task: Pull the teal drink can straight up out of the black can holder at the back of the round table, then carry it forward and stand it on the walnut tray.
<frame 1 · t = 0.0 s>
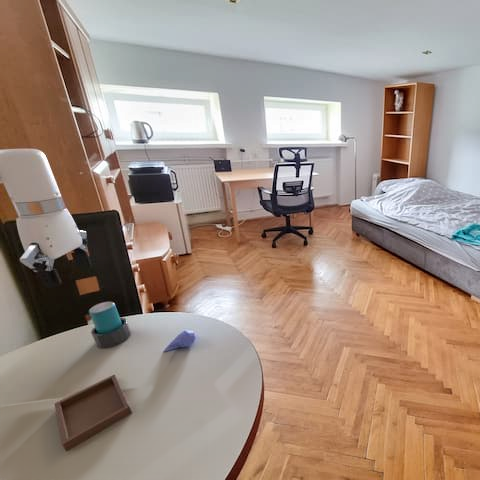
hand: (69, 275, 70), 25 cm above the table, tool pointing down, fingers open, 9 cm apart
tray: (94, 411, 63), on the table
can: (114, 338, 85), resting on holder
blue teardrop shape: (183, 346, 83), on the table
holder: (114, 340, 85), on the table
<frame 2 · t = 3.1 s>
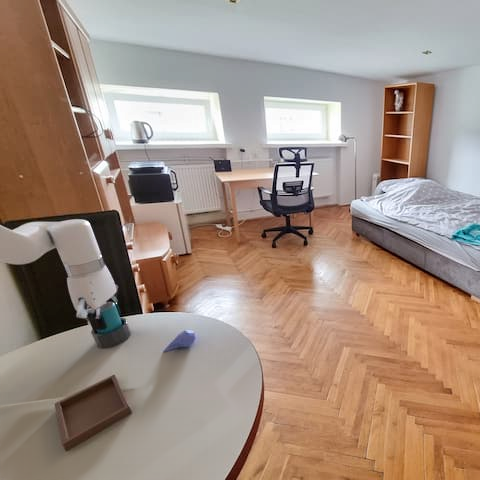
hand: (107, 321, 82), 7 cm above the table, tool pointing down, fingers closed on can, 5 cm apart
can: (114, 338, 85), point 1 cm above the table, touching gripper, holder
everything else where it was.
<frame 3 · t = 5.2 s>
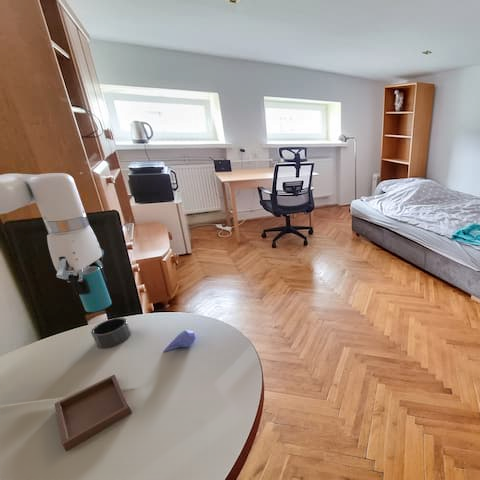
hand: (91, 287, 77), 18 cm above the table, tool pointing down, fingers closed on can, 5 cm apart
can: (98, 306, 80), point 12 cm above the table, touching gripper
everything else where it was.
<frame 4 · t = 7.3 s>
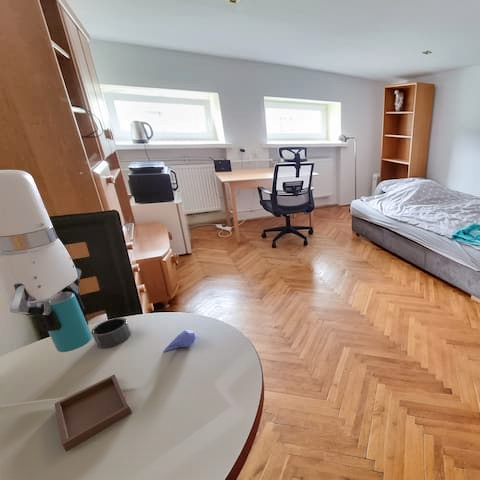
hand: (64, 319, 59), 22 cm above the table, tool pointing down, fingers closed on can, 5 cm apart
can: (75, 342, 61), point 15 cm above the table, touching gripper
everything else where it was.
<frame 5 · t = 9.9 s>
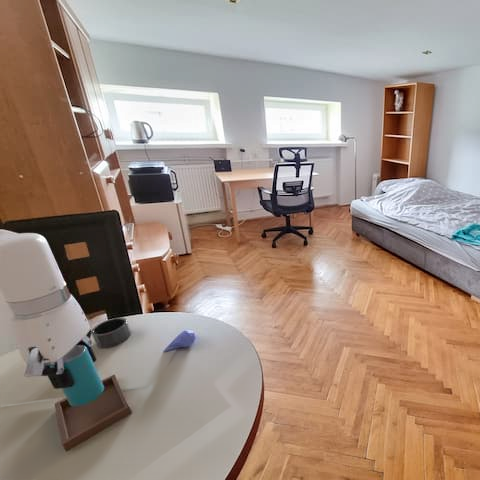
hand: (76, 373, 59), 11 cm above the table, tool pointing down, fingers closed on can, 5 cm apart
can: (87, 394, 61), point 5 cm above the table, touching gripper
everything else where it was.
when the fingers open (7 cm above the table, at t = 11.5 s): can stays where it is, resting on tray.
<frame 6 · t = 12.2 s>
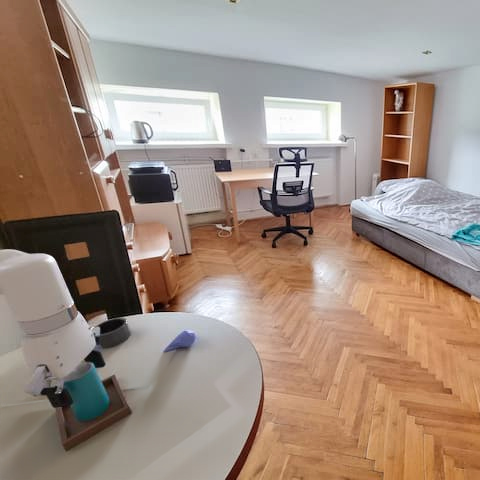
hand: (81, 384, 60), 8 cm above the table, tool pointing down, fingers open, 9 cm apart
can: (94, 409, 63), resting on tray
everything else where it was.
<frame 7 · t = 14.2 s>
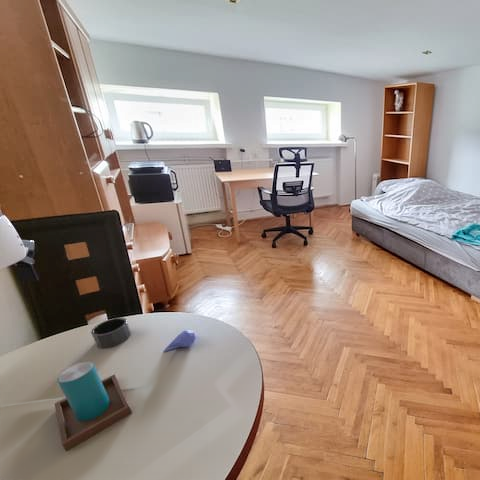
hand: (8, 293, 59), 27 cm above the table, tool pointing down, fingers open, 9 cm apart
nothing on the table moved.
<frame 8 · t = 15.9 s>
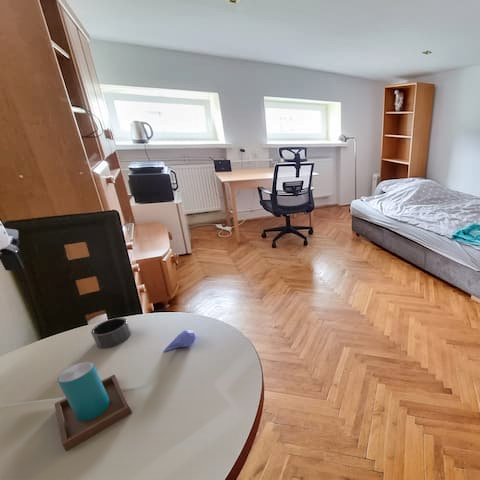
nothing on the table moved.
at the end: can inside the target area in the tray (0.0 cm from its centre), point 0.5 cm above the tray's base; can tilted 0°; can touching tray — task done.
